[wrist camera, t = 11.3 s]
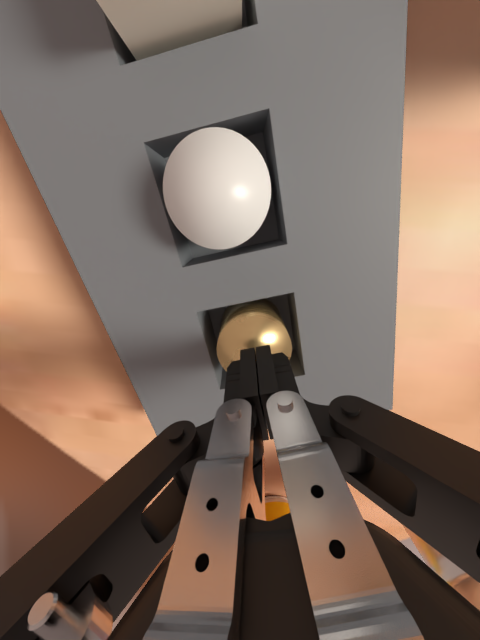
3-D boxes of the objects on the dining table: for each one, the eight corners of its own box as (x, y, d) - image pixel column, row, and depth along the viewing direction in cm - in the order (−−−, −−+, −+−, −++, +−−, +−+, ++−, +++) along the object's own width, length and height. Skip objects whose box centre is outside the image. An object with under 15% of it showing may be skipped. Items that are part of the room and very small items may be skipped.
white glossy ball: (172, 163, 12) (146, 143, 9) (255, 142, 12) (260, 112, 8) (196, 248, 14) (181, 259, 10) (269, 231, 13) (278, 237, 10)
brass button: (214, 302, 16) (208, 324, 13) (277, 289, 16) (286, 309, 13) (229, 355, 18) (226, 387, 15) (285, 344, 17) (296, 375, 14)
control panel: (-65, -179, 10) (-258, -427, 6) (349, -358, 8) (439, -837, 4) (175, 405, 21) (161, 445, 17) (363, 373, 20) (392, 409, 16)
